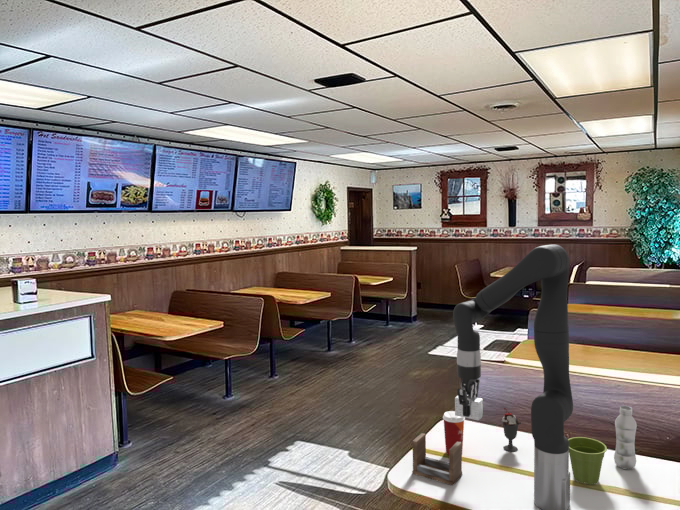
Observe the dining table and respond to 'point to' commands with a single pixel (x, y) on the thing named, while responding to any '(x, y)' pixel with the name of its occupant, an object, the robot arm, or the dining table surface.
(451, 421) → the paper cup
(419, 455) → the wooden holder
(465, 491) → the dining table surface
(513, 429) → the sundae
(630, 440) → the plastic bottle
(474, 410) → the metal block
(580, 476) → the plant pot
